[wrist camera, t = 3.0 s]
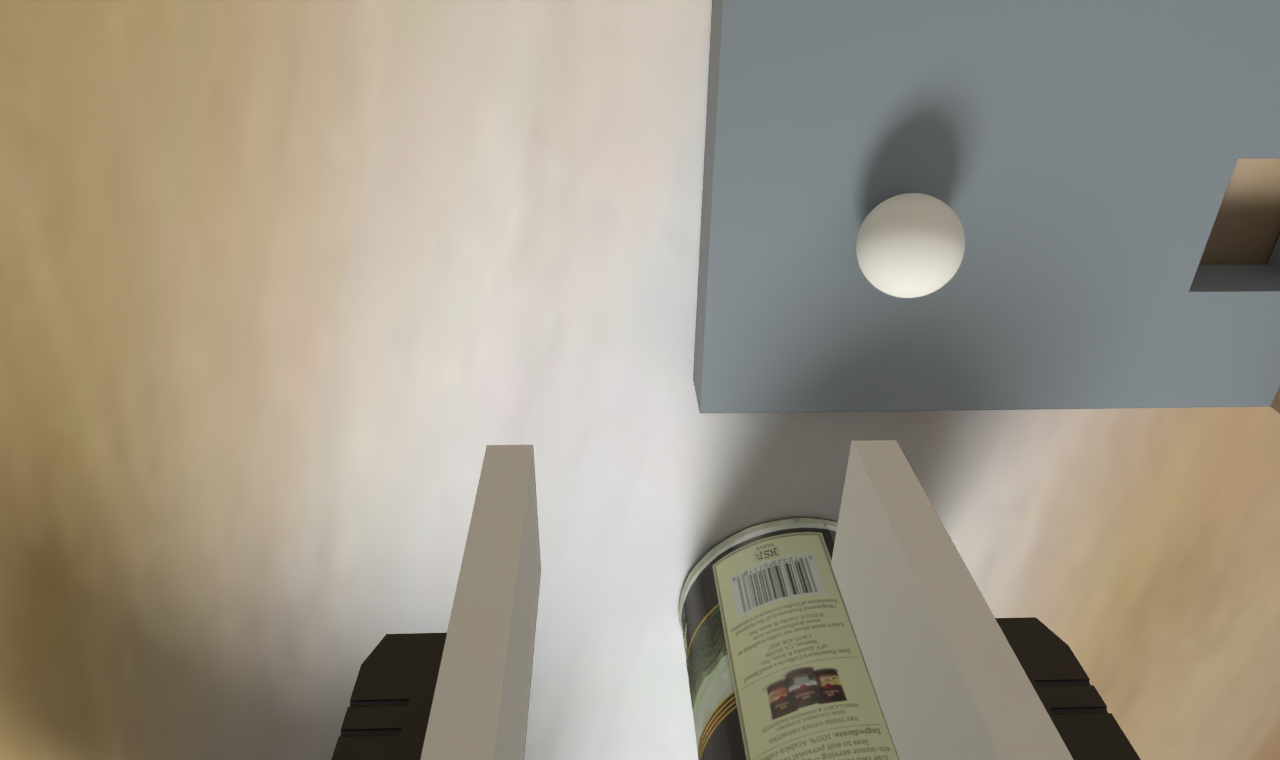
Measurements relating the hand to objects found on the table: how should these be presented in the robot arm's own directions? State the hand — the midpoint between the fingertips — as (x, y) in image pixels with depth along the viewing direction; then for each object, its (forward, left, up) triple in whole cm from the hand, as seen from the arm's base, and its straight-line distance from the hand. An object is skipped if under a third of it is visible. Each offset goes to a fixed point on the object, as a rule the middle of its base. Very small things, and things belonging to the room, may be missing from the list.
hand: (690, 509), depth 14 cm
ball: (+8, 0, -13) cm, 15 cm away
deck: (+15, 0, -17) cm, 23 cm away
